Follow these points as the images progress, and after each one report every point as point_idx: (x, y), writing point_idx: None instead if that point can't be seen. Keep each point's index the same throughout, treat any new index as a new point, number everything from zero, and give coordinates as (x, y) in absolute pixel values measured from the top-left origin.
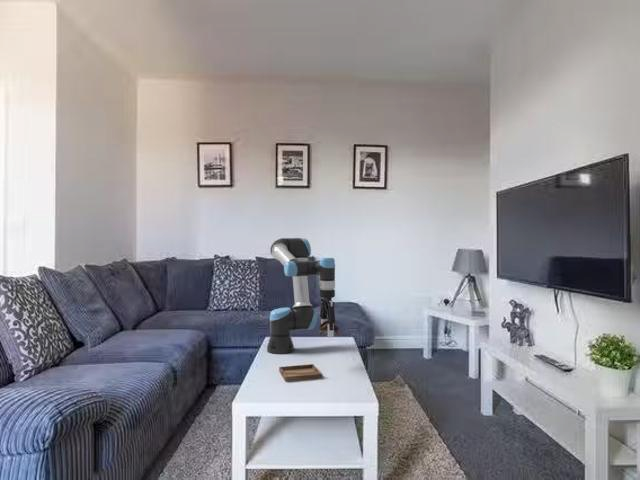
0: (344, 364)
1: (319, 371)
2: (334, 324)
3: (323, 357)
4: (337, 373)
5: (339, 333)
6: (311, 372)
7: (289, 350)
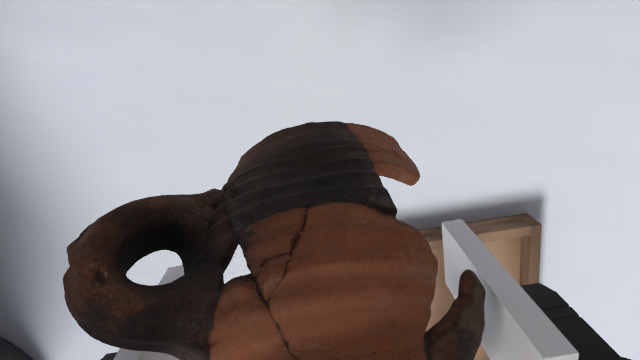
0: (285, 34)
1: (493, 233)
2: (425, 285)
3: (106, 158)
4: (467, 117)
5: (350, 126)
6: (439, 261)
7: (6, 357)
